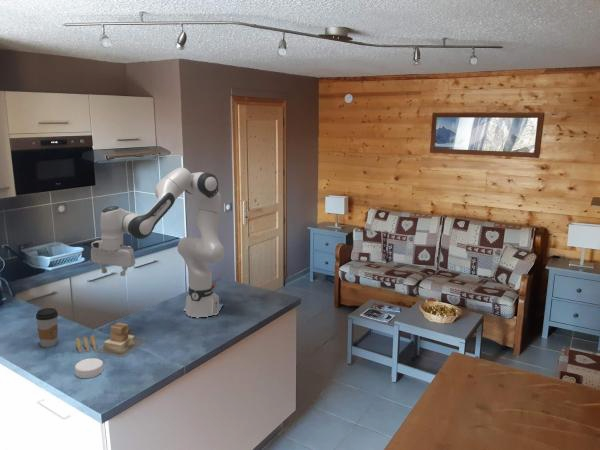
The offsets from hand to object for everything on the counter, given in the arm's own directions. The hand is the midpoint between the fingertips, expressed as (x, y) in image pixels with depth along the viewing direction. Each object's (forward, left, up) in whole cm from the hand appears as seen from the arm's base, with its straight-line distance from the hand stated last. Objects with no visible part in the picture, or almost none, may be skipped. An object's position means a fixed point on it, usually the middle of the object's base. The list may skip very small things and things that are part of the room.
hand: (113, 274), depth 215 cm
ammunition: (+17, -2, -29) cm, 33 cm away
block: (+3, +7, -28) cm, 29 cm away
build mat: (+9, +10, -28) cm, 32 cm away
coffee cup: (+18, -20, -29) cm, 39 cm away
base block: (+12, +10, -28) cm, 32 cm away
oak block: (+11, +10, -24) cm, 28 cm away
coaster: (+32, +11, -29) cm, 44 cm away
